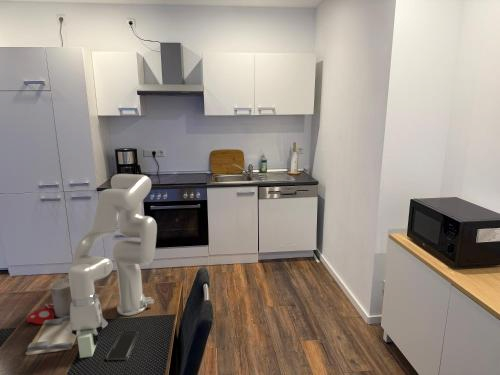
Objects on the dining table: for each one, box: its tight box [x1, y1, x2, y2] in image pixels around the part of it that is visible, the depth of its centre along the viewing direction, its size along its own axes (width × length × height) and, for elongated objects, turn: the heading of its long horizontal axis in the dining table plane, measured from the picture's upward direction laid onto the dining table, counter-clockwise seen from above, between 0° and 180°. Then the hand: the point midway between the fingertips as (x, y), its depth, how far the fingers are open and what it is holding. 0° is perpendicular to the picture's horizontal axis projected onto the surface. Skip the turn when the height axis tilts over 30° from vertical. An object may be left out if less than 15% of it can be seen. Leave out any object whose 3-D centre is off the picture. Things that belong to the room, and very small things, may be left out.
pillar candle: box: [49, 277, 72, 319], centre depth 145 cm, size 10×10×15 cm
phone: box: [105, 331, 140, 361], centre depth 124 cm, size 8×1×15 cm
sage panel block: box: [77, 329, 99, 359], centre depth 123 cm, size 4×10×8 cm, turn 12°
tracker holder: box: [26, 303, 56, 325], centre depth 142 cm, size 12×4×10 cm
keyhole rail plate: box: [25, 316, 78, 356], centre depth 131 cm, size 15×19×2 cm
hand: (89, 343), depth 124 cm, fingers closed on sage panel block, 4 cm apart
